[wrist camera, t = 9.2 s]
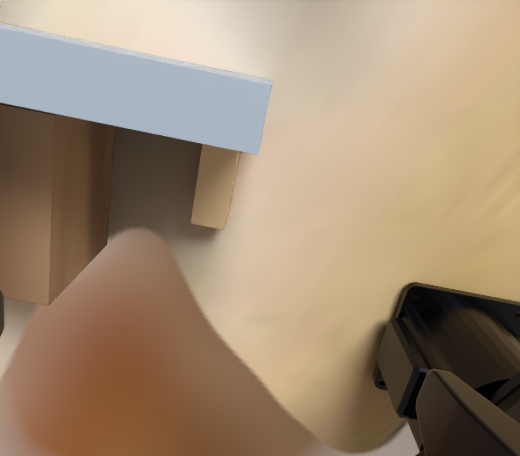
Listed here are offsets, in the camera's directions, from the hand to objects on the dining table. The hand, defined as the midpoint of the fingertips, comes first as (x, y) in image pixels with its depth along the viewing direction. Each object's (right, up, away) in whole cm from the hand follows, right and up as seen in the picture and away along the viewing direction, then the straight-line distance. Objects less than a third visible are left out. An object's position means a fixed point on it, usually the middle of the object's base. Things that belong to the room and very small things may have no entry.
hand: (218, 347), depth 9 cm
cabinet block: (-9, +5, +11) cm, 15 cm away
